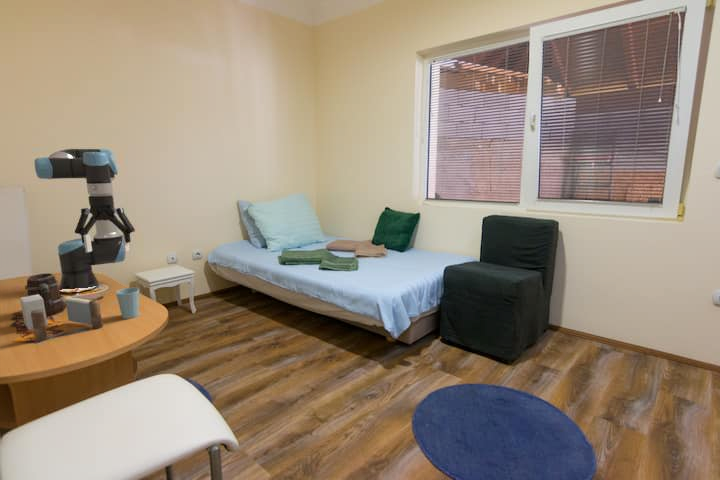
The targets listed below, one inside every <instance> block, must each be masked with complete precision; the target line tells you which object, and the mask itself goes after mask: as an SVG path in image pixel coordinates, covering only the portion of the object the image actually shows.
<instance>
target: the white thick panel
mask: <svg viewBox="0 0 720 480" xmlns="http://www.w3.org/2000/svg"><path fill="white" fill-rule="evenodd" d="M63 301H64V302H65V307H66V312H67V318H68V322H72V323H79V324H85V325H90V326H92V321H91V314H90V307H89V301H92V300H90V299H84V298H77V297H69V296H68V297H63Z"/></svg>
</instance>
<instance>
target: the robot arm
mask: <svg viewBox="0 0 720 480" xmlns="http://www.w3.org/2000/svg"><path fill="white" fill-rule="evenodd" d="M34 170H35V174H36V177H37V178H38V179H45V180H46V179H47V180H53V179H54V180H56V179H57V180H58V179H59V180H60V179H62V180H63V179H85V180H86V190H87V194H88V203H89V206H90V208H88V207H85V208H84V207H83V208H81V209H80V217H79V218H78V219H79V220H78V222H77V225H76V227H75V229H74V234H79V235H80V238H75V239H70V240H68V241H67V240H66V241H64V242H60V243H59V244H58V246H57V252H58V253H57V254H58V255H57V256H58V258H59V265H60V272H61V278H60V281H59V285H58V289H59V291H60V290H62V289H75V288H88V287H93V286H98V285H99V280H98V278H97V277H96V275H95V273H94V271H93V267H92V266H98V265H105V264H106V265H107V264H116V263H122V262H124V261H125V259H126V255H127V252H129V251H130V244H129V243H131V233H134V232H136V229H135V227H134V226H133V224H132V223H131V221H130V219H129V218H128V216H127V215H126V214H125V210H124V208H123V207H118V208H115V201H114V200H115V199H114V192H113V184H112V182H113V181H114V180H115V176H117V175H118V168H117V164H116V161H115V158H114V155H113V152H112V151H111V150H109V149H103V148H97V149H96V148H67V149H62V150H58V151H55V152H53V153H51V154H50V155H49V156H48V157H36V158H35V159H34ZM89 214H91V215H92V216H90V218H89V220H88V217H89ZM116 215H117V216H118V217H117V216H116ZM118 218H119V219H118ZM87 220H88V222H87ZM93 226H95V233H96V234H94V235H93V240H92V239H91V234H90V233H89V231H91V229H92V228H93ZM118 230H119V231H121V233H120V232H119V231H118ZM122 233H123V234H122ZM98 287H99V286H98Z"/></svg>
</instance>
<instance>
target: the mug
mask: <svg viewBox="0 0 720 480" xmlns="http://www.w3.org/2000/svg"><path fill="white" fill-rule="evenodd" d="M58 284H60V281H59V280H56V276H55V275H54V274H52V273H48V272H47V273H39V274H33V275H31V276H29V277H28V278H27V280H26V285H25V287H24V290H27V296H32V295H37V294H39V295H40V296H41V297H42V298H43V301H44V307H45V312H46V317H50V316H53V315H57V314H59V313H61V312H64V311H65V309H67V307H66V302H65V301H64V296H63V295H62V294H61V292H60V290H59V285H58Z"/></svg>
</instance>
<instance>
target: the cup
mask: <svg viewBox="0 0 720 480" xmlns="http://www.w3.org/2000/svg"><path fill="white" fill-rule="evenodd" d="M115 296H116V298H117V301H118V306H119V310H120V313H121V317H122V319H123V320H124V319H125V320H130V319H134V318H137V317H138V316H140V315H139V313H140V310H139V309H140V307H139V306H140V304H139V303H140V288H138V287H127V288H126V287H125V288H122V289H118V290H117V291H116V292H115Z"/></svg>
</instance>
